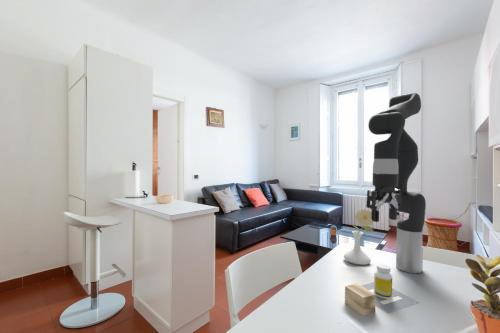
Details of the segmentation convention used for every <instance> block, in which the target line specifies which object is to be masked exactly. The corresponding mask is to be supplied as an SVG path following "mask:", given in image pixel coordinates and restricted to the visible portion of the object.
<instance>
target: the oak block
mask: <svg viewBox="0 0 500 333" xmlns="http://www.w3.org/2000/svg"><path fill="white" fill-rule="evenodd" d="M375 300H376V294H374V293H372V292H371V291H369V290H367V289H366V288H364V287H362V286H361V285H360V284H359V283H353V284H350V285H345V286H344V304H346V305H347V306H349V307H350V308H352V309H353V310H354V311H356V312H357V313H359V314H360V315H361V316H367V315H370V314H372V313H376V306H375Z"/></svg>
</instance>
